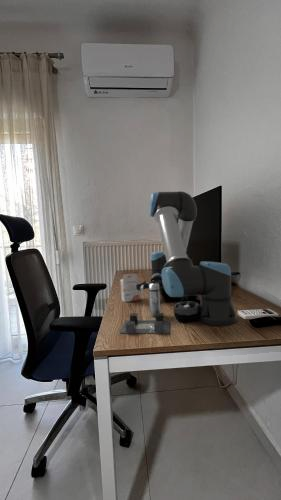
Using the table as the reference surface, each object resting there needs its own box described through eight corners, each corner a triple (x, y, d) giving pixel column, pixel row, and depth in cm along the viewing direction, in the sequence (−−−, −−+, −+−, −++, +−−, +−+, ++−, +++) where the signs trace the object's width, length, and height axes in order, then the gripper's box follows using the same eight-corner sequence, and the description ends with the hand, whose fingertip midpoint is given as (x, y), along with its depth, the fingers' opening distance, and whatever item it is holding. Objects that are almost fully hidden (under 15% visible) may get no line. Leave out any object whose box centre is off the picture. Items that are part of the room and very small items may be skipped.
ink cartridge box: (135, 298, 136) (134, 272, 135) (139, 300, 132) (137, 273, 131) (121, 300, 133) (119, 273, 132) (124, 302, 129) (122, 275, 128)
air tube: (160, 313, 108) (159, 282, 107) (160, 317, 103) (158, 284, 102) (150, 313, 108) (149, 282, 107) (149, 317, 104) (148, 285, 103)
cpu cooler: (202, 306, 95) (177, 310, 94) (204, 320, 96) (179, 324, 95) (193, 299, 106) (171, 303, 105) (195, 312, 106) (172, 316, 105)
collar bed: (169, 321, 98) (168, 312, 98) (169, 333, 86) (169, 324, 86) (125, 321, 100) (125, 313, 100) (119, 333, 88) (119, 324, 88)
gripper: (180, 287, 135) (182, 298, 114) (135, 288, 138) (130, 298, 117) (179, 274, 134) (181, 282, 113) (135, 275, 137) (129, 283, 116)
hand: (155, 290), depth 115 cm, fingers open, 13 cm apart
